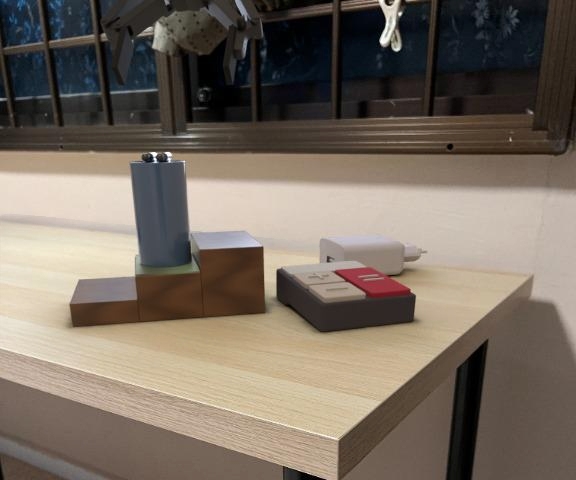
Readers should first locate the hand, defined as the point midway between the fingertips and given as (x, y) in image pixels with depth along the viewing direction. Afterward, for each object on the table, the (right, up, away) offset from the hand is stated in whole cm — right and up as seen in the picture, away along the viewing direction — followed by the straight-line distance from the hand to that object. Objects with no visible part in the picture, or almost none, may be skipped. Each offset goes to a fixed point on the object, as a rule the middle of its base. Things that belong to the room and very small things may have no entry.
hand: (172, 76), depth 73 cm
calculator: (+20, -29, -3) cm, 35 cm away
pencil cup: (0, -23, -3) cm, 23 cm away
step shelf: (0, -28, -1) cm, 28 cm away
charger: (+27, -21, +17) cm, 38 cm away
